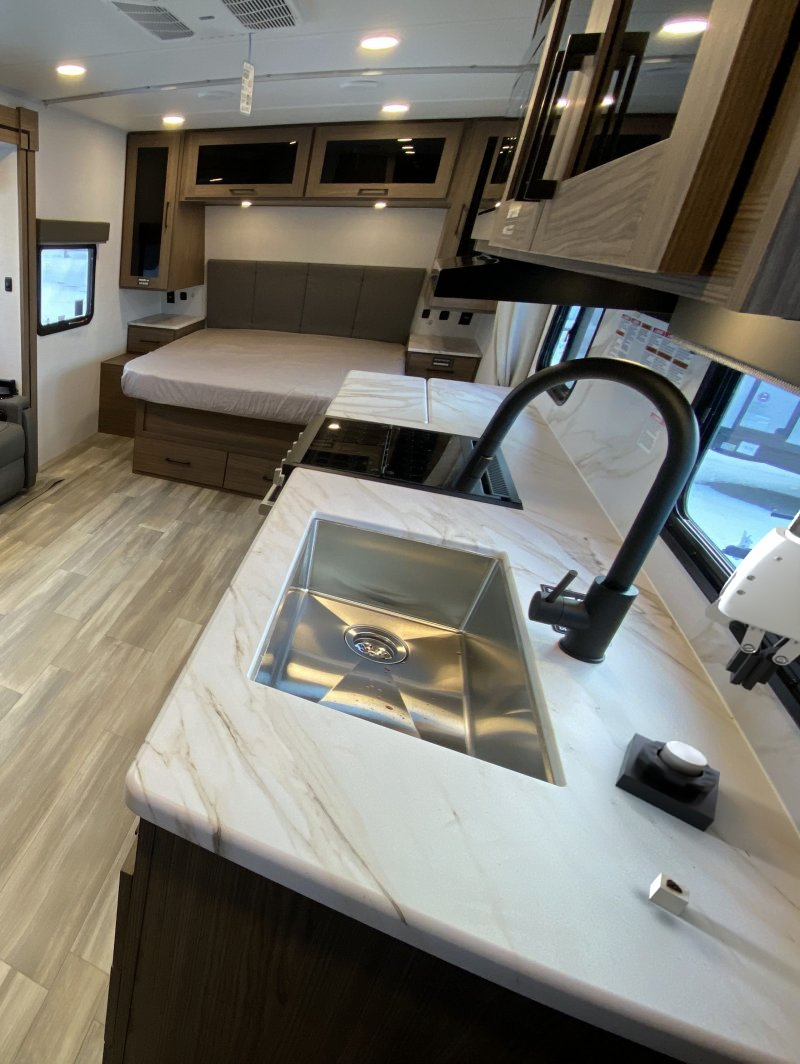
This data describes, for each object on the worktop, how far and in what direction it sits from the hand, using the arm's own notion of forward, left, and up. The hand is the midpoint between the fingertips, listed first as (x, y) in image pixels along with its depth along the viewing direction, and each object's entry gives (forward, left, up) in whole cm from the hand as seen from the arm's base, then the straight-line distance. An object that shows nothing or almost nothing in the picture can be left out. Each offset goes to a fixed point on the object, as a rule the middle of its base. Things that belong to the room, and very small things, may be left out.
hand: (740, 681), depth 63 cm
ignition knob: (0, 0, -13) cm, 13 cm away
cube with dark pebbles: (+6, +18, -17) cm, 26 cm away
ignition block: (0, 0, -17) cm, 17 cm away
